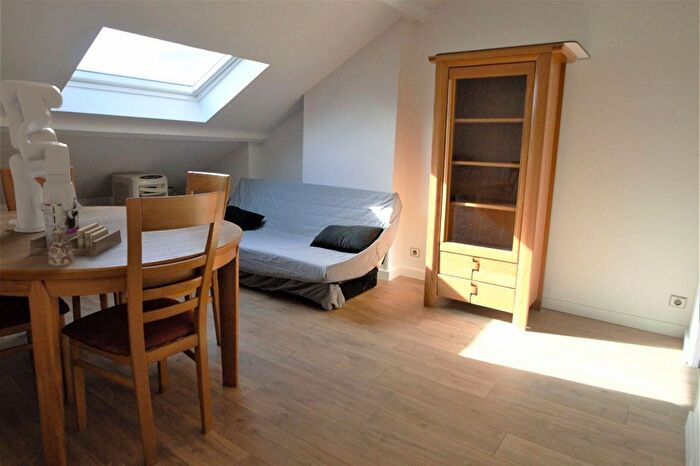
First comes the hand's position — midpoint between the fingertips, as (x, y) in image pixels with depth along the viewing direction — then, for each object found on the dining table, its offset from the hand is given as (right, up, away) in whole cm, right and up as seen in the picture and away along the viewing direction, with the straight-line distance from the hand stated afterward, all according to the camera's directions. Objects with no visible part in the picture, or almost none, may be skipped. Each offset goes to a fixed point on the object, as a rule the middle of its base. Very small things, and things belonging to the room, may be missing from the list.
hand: (62, 227), depth 171 cm
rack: (+5, -7, +2) cm, 9 cm away
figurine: (+10, -12, -17) cm, 24 cm away
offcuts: (+11, -8, +2) cm, 13 cm away
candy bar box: (0, -7, +2) cm, 7 cm away
